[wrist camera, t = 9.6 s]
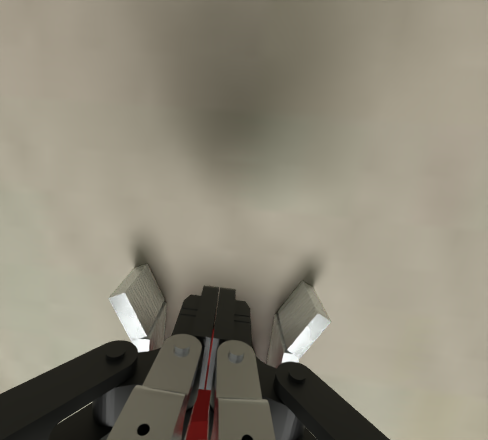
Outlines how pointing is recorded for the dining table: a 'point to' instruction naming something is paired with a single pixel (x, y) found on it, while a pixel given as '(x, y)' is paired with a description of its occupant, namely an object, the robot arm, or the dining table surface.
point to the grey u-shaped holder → (154, 308)
